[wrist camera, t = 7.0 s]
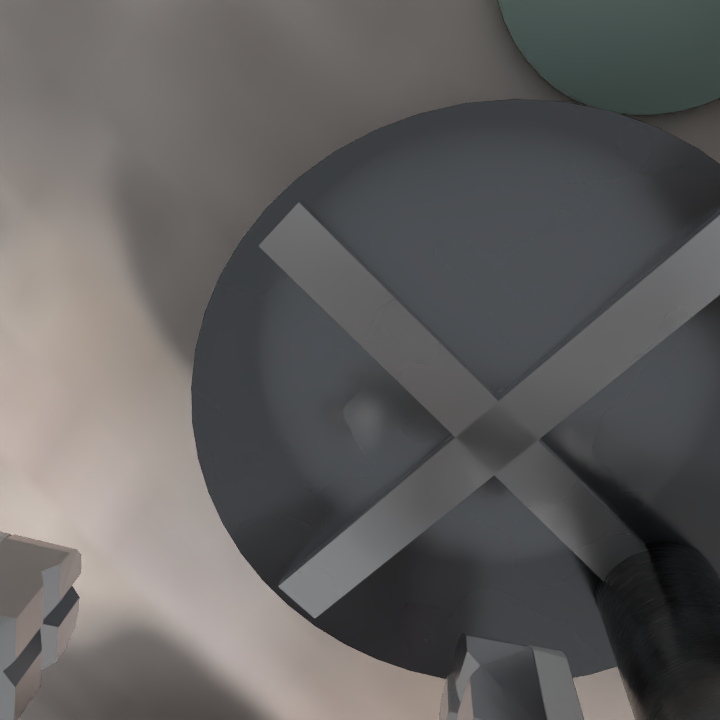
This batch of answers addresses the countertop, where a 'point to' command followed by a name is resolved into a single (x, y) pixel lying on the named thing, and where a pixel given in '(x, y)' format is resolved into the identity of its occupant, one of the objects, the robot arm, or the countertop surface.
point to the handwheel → (483, 395)
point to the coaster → (622, 50)
